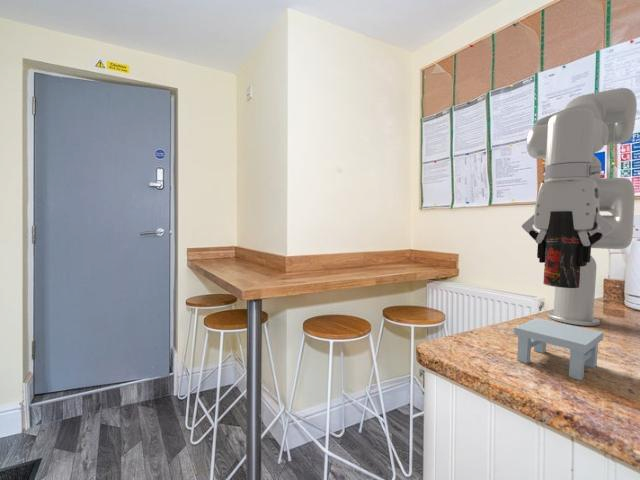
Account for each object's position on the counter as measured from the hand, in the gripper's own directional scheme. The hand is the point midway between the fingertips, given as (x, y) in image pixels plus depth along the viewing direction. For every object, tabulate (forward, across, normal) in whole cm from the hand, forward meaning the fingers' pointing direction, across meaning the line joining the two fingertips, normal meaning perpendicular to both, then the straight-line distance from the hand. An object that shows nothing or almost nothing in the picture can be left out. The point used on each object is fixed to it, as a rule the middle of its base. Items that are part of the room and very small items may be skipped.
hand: (562, 263), depth 67 cm
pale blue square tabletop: (+21, 0, 0) cm, 21 cm away
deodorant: (+5, 0, 0) cm, 5 cm away
